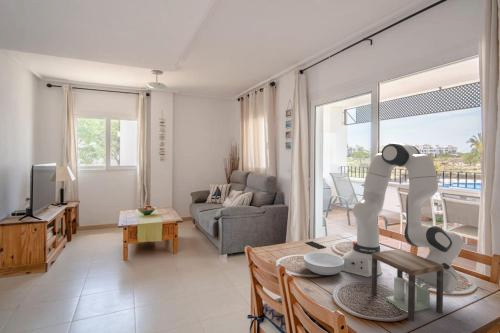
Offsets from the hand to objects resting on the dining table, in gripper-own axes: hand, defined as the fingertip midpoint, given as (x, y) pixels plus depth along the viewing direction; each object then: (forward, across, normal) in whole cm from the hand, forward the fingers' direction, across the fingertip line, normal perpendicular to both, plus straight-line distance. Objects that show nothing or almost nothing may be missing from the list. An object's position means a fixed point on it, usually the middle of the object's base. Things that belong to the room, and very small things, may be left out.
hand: (418, 290), depth 115 cm
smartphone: (+4, -78, +3) cm, 79 cm away
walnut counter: (+8, 0, -2) cm, 9 cm away
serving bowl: (+18, -39, -12) cm, 44 cm away
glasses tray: (+8, 0, -2) cm, 8 cm away
